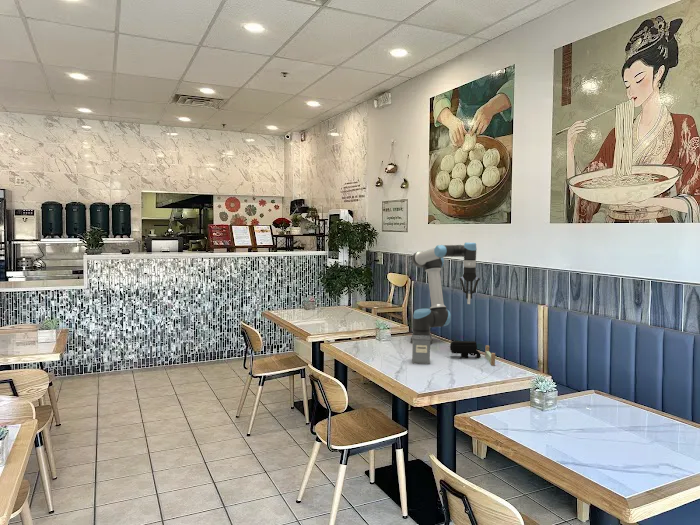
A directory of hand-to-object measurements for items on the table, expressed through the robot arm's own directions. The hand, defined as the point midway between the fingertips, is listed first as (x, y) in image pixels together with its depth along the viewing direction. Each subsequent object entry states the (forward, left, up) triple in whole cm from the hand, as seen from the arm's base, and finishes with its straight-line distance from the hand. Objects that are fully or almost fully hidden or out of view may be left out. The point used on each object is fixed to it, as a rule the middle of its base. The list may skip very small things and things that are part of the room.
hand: (468, 303), depth 333 cm
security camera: (+11, -3, -32) cm, 34 cm away
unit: (+24, -31, -32) cm, 51 cm away
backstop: (+17, +11, -32) cm, 38 cm away
